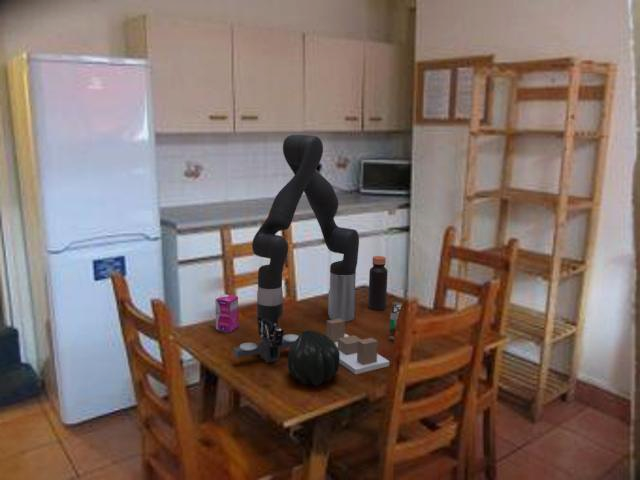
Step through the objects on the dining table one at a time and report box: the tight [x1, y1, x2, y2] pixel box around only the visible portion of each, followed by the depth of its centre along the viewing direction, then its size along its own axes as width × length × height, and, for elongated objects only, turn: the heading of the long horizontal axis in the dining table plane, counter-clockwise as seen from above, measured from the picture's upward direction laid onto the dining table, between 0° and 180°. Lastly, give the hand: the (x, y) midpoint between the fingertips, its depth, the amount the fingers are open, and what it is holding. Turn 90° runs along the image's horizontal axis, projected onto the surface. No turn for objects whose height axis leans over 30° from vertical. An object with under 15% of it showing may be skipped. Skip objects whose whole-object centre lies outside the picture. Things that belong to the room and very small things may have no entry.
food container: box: [388, 301, 403, 342], centre depth 188 cm, size 12×6×10 cm, turn 168°
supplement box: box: [214, 293, 239, 334], centre depth 191 cm, size 6×6×12 cm
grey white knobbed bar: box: [233, 333, 300, 364], centre depth 169 cm, size 22×5×6 cm, turn 120°
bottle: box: [367, 255, 388, 311], centre depth 214 cm, size 7×7×20 cm
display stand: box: [325, 318, 390, 375], centre depth 172 cm, size 24×12×8 cm, turn 30°
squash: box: [286, 329, 340, 386], centre depth 156 cm, size 14×15×15 cm
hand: (269, 353), depth 169 cm, fingers closed on grey white knobbed bar, 5 cm apart
